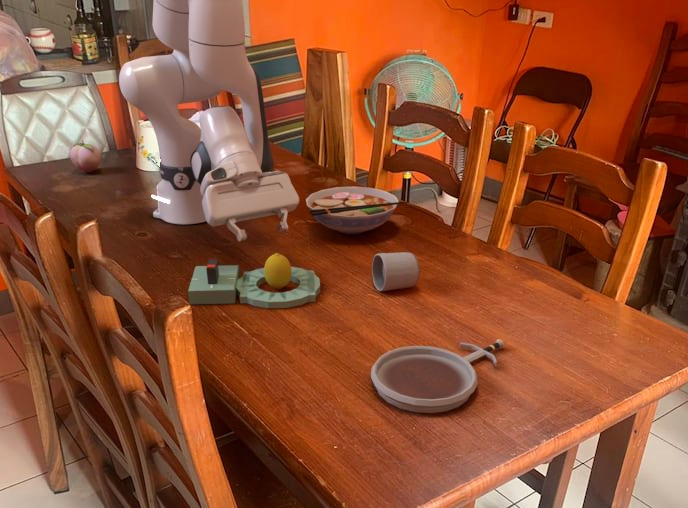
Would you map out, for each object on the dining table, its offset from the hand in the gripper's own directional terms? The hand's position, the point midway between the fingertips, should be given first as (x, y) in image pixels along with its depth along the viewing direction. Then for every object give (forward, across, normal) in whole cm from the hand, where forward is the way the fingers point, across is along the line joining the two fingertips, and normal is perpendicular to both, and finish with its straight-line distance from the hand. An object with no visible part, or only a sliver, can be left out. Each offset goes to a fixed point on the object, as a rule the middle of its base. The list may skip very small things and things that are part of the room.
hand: (264, 235), depth 138 cm
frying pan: (+42, -9, +27) cm, 51 cm away
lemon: (+11, 0, -3) cm, 12 cm away
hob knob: (+5, +12, -5) cm, 14 cm away
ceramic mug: (+18, -21, +4) cm, 28 cm away
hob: (+11, 0, -3) cm, 11 cm away
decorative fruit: (-65, +13, -78) cm, 102 cm away
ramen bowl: (-4, -31, -18) cm, 37 cm away
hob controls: (+7, +12, -7) cm, 15 cm away
